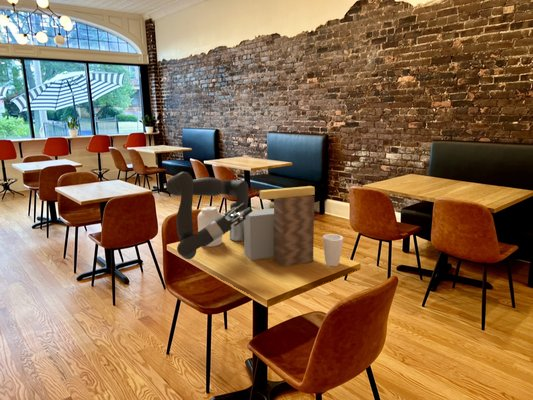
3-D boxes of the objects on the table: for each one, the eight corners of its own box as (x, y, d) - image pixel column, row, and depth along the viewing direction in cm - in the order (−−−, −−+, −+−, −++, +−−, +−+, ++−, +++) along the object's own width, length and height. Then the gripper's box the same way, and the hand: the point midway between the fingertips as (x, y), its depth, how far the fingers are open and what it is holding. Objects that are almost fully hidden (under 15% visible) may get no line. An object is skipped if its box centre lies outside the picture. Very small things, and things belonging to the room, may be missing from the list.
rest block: (250, 260, 192) (249, 216, 187) (244, 253, 202) (243, 211, 197) (281, 255, 198) (281, 212, 193) (273, 249, 207) (273, 208, 202)
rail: (262, 199, 177) (262, 191, 176) (259, 198, 180) (259, 190, 179) (314, 194, 186) (314, 187, 185) (311, 193, 189) (311, 186, 188)
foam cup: (318, 261, 190) (319, 235, 187) (334, 258, 194) (335, 233, 191) (329, 268, 181) (329, 241, 178) (346, 265, 185) (347, 238, 182)
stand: (282, 266, 184) (282, 199, 177) (274, 259, 193) (273, 194, 186) (313, 261, 190) (314, 196, 182) (303, 254, 199) (304, 192, 192)
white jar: (212, 248, 209) (211, 211, 204) (194, 244, 215) (192, 208, 210) (226, 241, 219) (225, 206, 215) (208, 238, 225) (207, 203, 221)
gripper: (217, 225, 167) (249, 203, 170) (210, 216, 180) (239, 196, 183) (227, 239, 169) (257, 217, 172) (218, 229, 182) (247, 209, 185)
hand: (248, 206), depth 177 cm, fingers open, 8 cm apart
